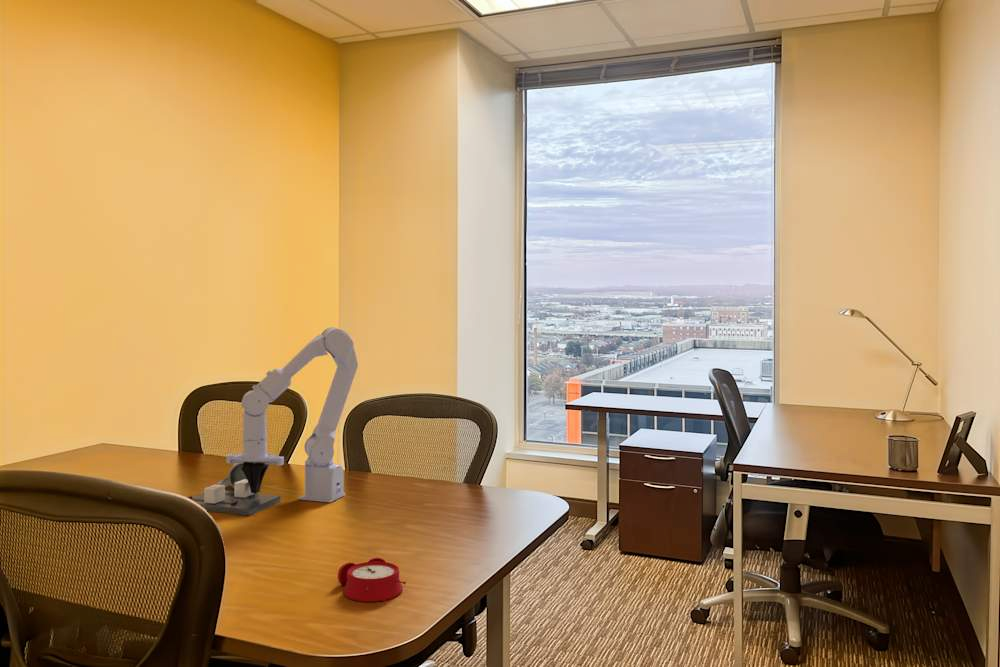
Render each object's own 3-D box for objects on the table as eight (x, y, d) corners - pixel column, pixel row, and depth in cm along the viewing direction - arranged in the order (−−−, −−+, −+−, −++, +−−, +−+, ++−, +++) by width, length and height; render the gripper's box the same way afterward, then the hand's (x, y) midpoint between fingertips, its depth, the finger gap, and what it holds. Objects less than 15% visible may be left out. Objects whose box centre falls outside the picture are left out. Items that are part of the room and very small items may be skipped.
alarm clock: (358, 589, 133) (329, 545, 145) (355, 621, 134) (327, 575, 147) (414, 578, 138) (382, 536, 150) (411, 609, 140) (379, 565, 152)
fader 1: (225, 499, 195) (224, 485, 194) (214, 503, 191) (214, 489, 191) (215, 498, 196) (214, 484, 195) (204, 502, 192) (204, 487, 192)
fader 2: (254, 493, 200) (254, 479, 200) (244, 497, 196) (244, 483, 196) (244, 492, 201) (244, 478, 201) (234, 496, 197) (234, 482, 197)
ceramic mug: (257, 482, 219) (257, 455, 218) (258, 489, 211) (257, 461, 210) (217, 486, 215) (216, 458, 215) (216, 493, 208) (215, 464, 207)
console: (280, 501, 199) (280, 494, 199) (248, 515, 187) (248, 507, 187) (214, 494, 205) (214, 487, 205) (179, 507, 193) (179, 499, 193)
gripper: (289, 436, 200) (289, 489, 201) (235, 434, 202) (236, 487, 203) (277, 442, 193) (277, 496, 194) (221, 439, 195) (222, 494, 196)
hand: (255, 492), depth 198 cm, fingers closed
